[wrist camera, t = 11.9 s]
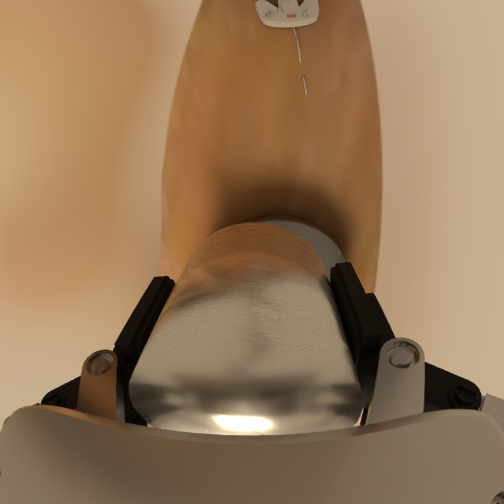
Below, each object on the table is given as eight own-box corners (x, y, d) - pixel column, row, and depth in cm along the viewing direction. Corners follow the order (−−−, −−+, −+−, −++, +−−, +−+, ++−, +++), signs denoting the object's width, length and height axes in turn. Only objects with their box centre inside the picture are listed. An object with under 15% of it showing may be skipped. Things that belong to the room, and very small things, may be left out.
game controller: (300, -15, 17) (303, -25, 14) (356, 77, 21) (365, 74, 19) (248, 3, 18) (246, -7, 16) (305, 96, 23) (309, 94, 20)
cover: (170, 227, 10) (90, 335, 5) (331, 219, 10) (392, 334, 4) (197, 342, 13) (168, 451, 8) (322, 340, 12) (340, 454, 7)
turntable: (184, 289, 31) (167, 330, 25) (263, 183, 25) (262, 208, 19) (285, 346, 35) (287, 390, 29) (371, 269, 29) (393, 308, 23)
